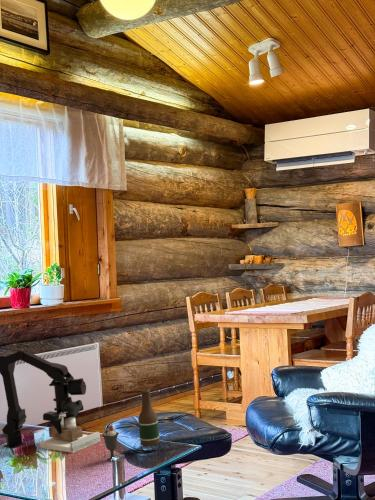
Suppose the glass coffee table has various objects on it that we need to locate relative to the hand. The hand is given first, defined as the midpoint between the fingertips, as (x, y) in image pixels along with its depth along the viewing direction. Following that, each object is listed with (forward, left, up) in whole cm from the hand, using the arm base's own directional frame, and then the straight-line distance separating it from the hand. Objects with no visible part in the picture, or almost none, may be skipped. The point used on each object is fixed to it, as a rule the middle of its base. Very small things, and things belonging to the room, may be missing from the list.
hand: (65, 431), depth 304 cm
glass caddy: (0, 0, -2) cm, 2 cm away
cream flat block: (+2, 0, -5) cm, 6 cm away
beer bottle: (+40, +8, -6) cm, 41 cm away
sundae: (+34, -8, -6) cm, 35 cm away
